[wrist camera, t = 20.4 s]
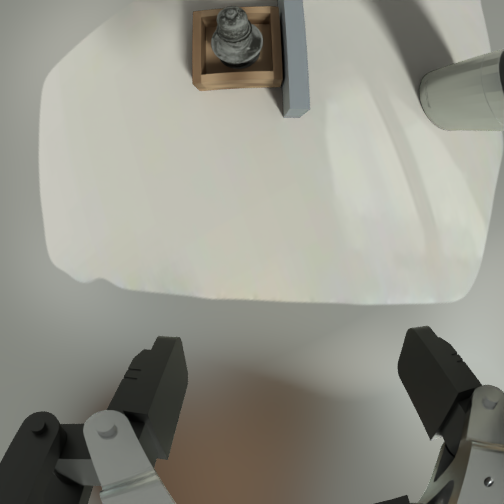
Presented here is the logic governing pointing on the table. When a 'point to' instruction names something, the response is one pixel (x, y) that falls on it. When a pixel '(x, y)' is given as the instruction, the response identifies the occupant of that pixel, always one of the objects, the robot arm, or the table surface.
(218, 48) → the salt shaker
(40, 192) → the table surface
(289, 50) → the backstop board
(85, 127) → the table surface
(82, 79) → the table surface
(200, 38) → the socket block
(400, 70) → the table surface
